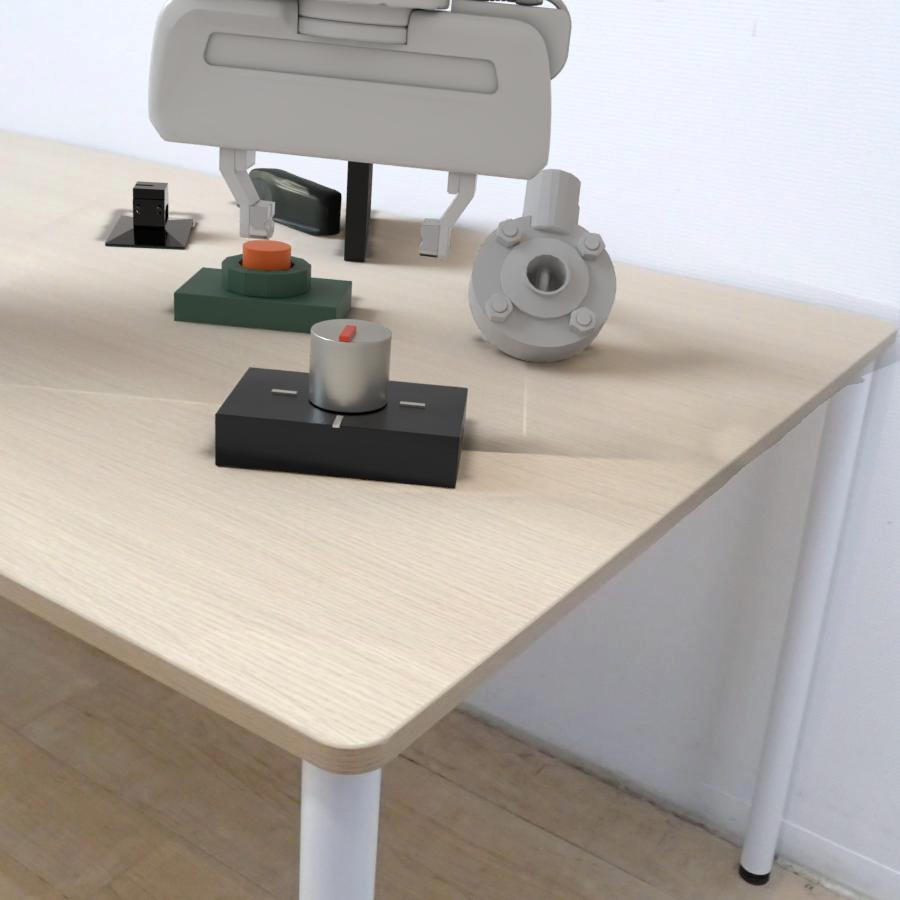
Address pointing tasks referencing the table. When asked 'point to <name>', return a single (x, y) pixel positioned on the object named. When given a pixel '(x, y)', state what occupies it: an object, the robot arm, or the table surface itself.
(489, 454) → the table surface
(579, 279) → the mechanical valve
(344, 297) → the button box
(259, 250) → the button
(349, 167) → the nameplate
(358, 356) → the knob
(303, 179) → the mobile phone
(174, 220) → the build plate
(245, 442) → the dial panel
